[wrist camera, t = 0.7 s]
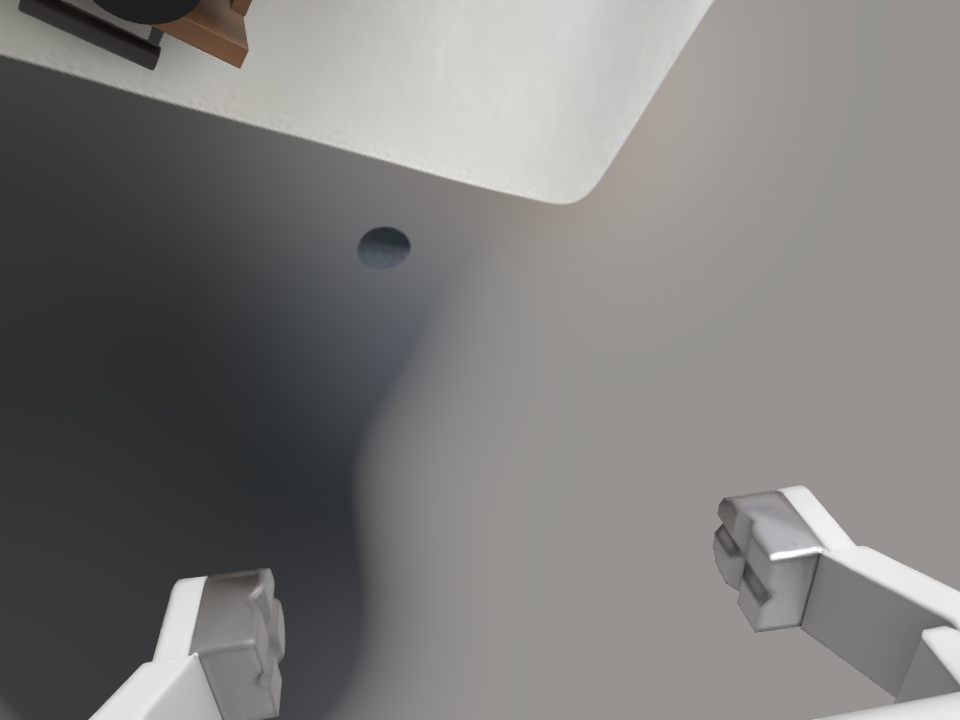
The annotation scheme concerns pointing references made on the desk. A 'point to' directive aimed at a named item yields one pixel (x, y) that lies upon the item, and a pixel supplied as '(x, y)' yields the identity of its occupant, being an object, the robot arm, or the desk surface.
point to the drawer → (154, 30)
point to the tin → (148, 10)
